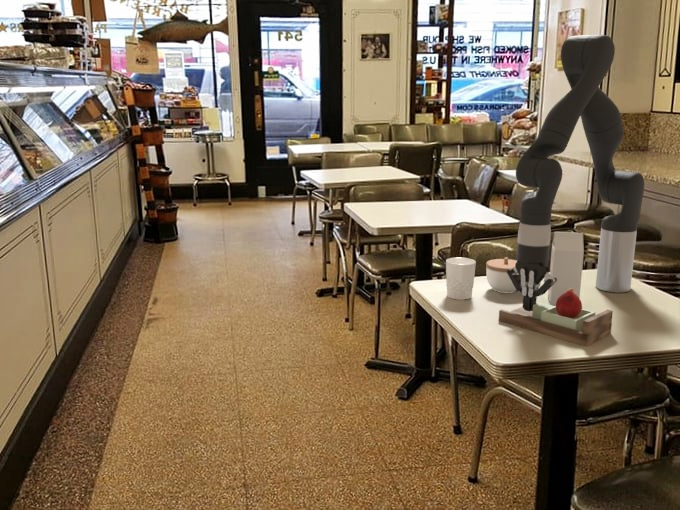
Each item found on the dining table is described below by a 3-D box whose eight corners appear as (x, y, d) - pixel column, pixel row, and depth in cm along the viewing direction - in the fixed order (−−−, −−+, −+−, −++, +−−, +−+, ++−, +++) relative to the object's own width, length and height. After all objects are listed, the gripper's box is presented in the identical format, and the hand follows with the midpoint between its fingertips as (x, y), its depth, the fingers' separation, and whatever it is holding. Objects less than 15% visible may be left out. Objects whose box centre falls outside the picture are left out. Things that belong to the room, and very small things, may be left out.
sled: (545, 312, 168) (546, 299, 167) (594, 325, 159) (595, 312, 158) (525, 320, 162) (526, 307, 161) (575, 334, 153) (576, 320, 152)
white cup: (441, 298, 183) (443, 263, 181) (448, 290, 190) (449, 256, 188) (470, 302, 180) (472, 265, 178) (476, 294, 188) (478, 259, 185)
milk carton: (578, 307, 176) (585, 236, 172) (550, 305, 178) (556, 234, 173) (575, 299, 183) (581, 230, 178) (547, 297, 184) (553, 229, 180)
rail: (524, 310, 174) (525, 289, 173) (610, 333, 158) (613, 310, 156) (498, 320, 166) (499, 298, 165) (586, 346, 150) (588, 322, 149)
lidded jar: (480, 285, 196) (481, 253, 194) (516, 284, 197) (518, 252, 194) (491, 296, 186) (493, 263, 183) (529, 295, 186) (531, 262, 184)
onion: (577, 327, 155) (580, 293, 153) (551, 322, 158) (554, 289, 156) (582, 319, 160) (585, 287, 158) (558, 315, 163) (560, 283, 161)
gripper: (567, 243, 160) (561, 313, 164) (518, 234, 169) (514, 300, 173) (550, 248, 155) (544, 320, 159) (501, 239, 164) (497, 307, 169)
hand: (528, 310), depth 166 cm, fingers closed
